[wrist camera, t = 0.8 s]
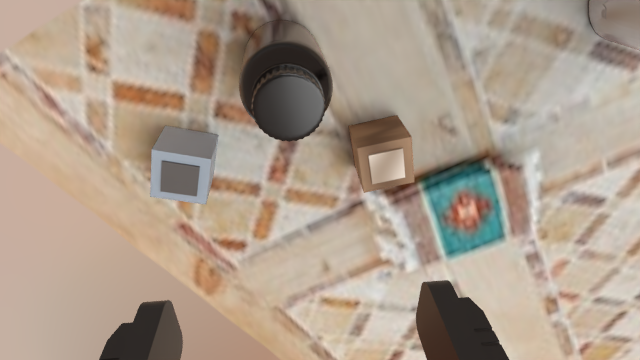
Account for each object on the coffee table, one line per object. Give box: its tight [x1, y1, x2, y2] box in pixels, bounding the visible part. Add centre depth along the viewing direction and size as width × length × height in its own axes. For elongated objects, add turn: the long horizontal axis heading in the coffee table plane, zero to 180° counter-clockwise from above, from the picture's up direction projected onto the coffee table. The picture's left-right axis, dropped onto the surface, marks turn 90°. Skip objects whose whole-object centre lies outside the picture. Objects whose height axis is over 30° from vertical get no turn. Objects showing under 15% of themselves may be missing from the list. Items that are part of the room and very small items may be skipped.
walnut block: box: [349, 115, 414, 193], centre depth 38 cm, size 5×5×5 cm
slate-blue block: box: [150, 126, 218, 204], centre depth 37 cm, size 5×5×5 cm
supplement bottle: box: [239, 20, 333, 141], centre depth 30 cm, size 7×7×12 cm
